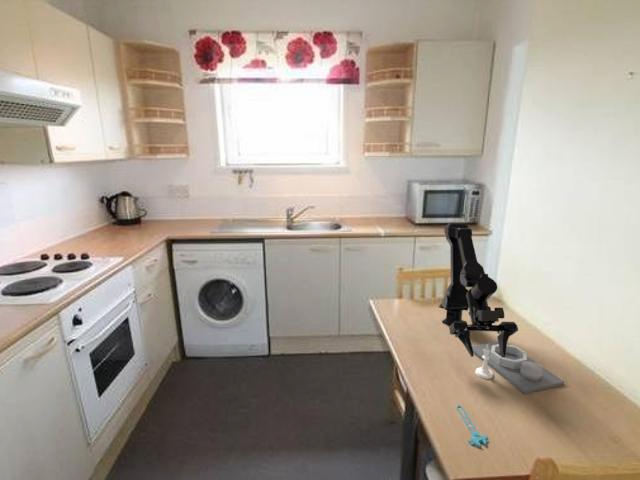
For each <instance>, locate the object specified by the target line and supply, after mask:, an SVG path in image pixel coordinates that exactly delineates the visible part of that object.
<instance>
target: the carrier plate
mask: <svg viewBox="0 0 640 480" xmlns="http://www.w3.org/2000/svg"><path fill="white" fill-rule="evenodd" d="M487 344H488V349H489V350H490V353H489V355H488V356H489V357H490V359H489V360H488V366H489V367H490V368H491V369H492V370H494V371H495V372H496V373H498V374H499V375H500V376H501V377H503V379H505V380H507V382H508V383H510V384H511V385H512V386H514V387H515V389H516V388H517V390H519V391H521V392H522V394H523V395H524V394H529V393H534V392H538V391H543V390H546V389H552V388H556V387H560V386H564V385H565V380H563V379H561V378H559V377H558V376H557V375H555V374H554V373H552V372H551V371H549V370H548V369H546V368H545V367H543V366H542V365H540V364H539V363H538V362H536V361H534V359H533V360H532V359H531V358H530V357H529V356H528V353H527V352H526V351H524V350H522V349H521V348H520V347H518V346H515V345H512V344H511V345H510V344H509V343H507V347H506V354H505V357H504V358H503V357H502V355H501V352H500V347H499V343H498V341H494V342H486V343H481V344H475V345H472V348H473V354H474V355H475V356H476V357H477V358H478V359H480V360H481V361H482V362H483V361H484V359H483V358H482V356H483V355H484V352H483V349H486V345H487Z"/></svg>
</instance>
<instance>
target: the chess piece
mask: <svg viewBox="0 0 640 480" xmlns="http://www.w3.org/2000/svg"><path fill="white" fill-rule="evenodd" d="M486 344H487V343H486ZM483 352H484V355H483V356H482V358H483V359H484V361H482V365H481V367H477V368H476V369H475V374H476V375H477V376H478V377H479V378H482V379H485V380H489V379H492V378H493V377H494V373H493V371H492V370H491V369H489V367H488V366H489V365H488V360H489V359H490V357H489V356H488V355H489V353H490V350H489V349H488V344H487V345H486V349H483Z"/></svg>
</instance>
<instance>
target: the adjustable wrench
mask: <svg viewBox="0 0 640 480" xmlns="http://www.w3.org/2000/svg"><path fill="white" fill-rule="evenodd" d="M455 408H456V411H458V413H459V414H460V416H461V418H462V420H463V423H465V425H466V426H467V428H468V431H469V432H470V435H471V439H469V440H468V443H469V444H470V446H475V447H476V446H477V447H476V448H479V447H483V446H484V447H486V446H487V443H489V439H488V435H484V434H480V433H479V431H478V430H477V429H476V427H475V426H474V424H473V422H472V421H471V418H470V417H469V415H468V414H467V412H466V411H465V408H464V407H463V406H462V405H456V407H455ZM460 409H461V410H460ZM463 411H464V412H463ZM462 413H463V414H462ZM463 415H464V416H463ZM466 416H467V417H466ZM464 417H465V418H464ZM466 418H467V419H466ZM471 428H473V430H474V431H472V429H471Z"/></svg>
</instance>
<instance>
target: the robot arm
mask: <svg viewBox="0 0 640 480" xmlns="http://www.w3.org/2000/svg"><path fill="white" fill-rule="evenodd" d="M443 230H444V234H445V240H446V241H447V242H448V244H449V245H450V249H449V250H450V284H449V285H448V287H447V288H446V291H445V292H446V293H445V295H444V297H442V300H441V301H442V302H441V303H442V305H443V307H442V308H443V309H444V310H445V311H446V315H445V319H442V320H441V322H442V323H444V324H446V325H447V326H449V329H448V330H449V334H450V335H454V337H455V338H458V339H459V341H460V342H461V343H462V345H463V346H464V347H465V349H466V351H467V352H468V354H469V356H470V357H472V358H473V357H474V355H475V354H474V353H473V348H472V346H473V344H472V341H471V335H470V333H471V332H497V334H498V336H497V337H496V338H497V342H498V343H499V347H500V352H501V355H502V357H503V358H504V357H505V354H506V347H507V344H508V341H509V338H510V337H511V336H513V335H514V334H515V333H517V332H518V331H519V327H518V324H516V322H515V321H501V322H500V323H499V319H505V311H504V308H503V307H494V310H492V308H491V306H489V303H488V301H489V299H490V298H491V297H492V296H493V295H494V294H495V293H496V292H497V290H498V284H497V282H496V281H495V280H494V279H493V278H491V277H489V274H488V273H486V272H485V269H484V267H483V266H482V265H481V263H480V262H478V258H477V255H476V249H475V246H474V241H473V238H472V237H473V230H472V226H470V225H468V224H467V223H466V222H447V224H446V225H444V229H443ZM467 288H470V289H467ZM463 311H466V312H467V311H468V316H469V317H470V321H471V324H468V322H467V320H463V319H462V318H463ZM495 323H499V324H495Z"/></svg>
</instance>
